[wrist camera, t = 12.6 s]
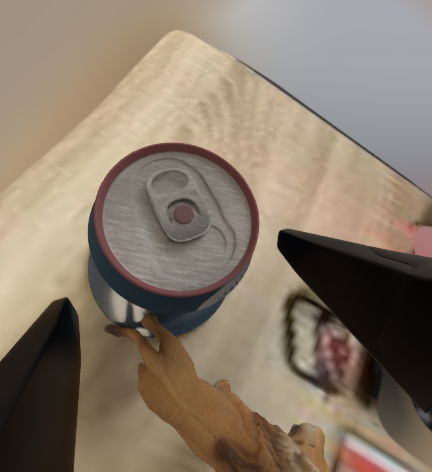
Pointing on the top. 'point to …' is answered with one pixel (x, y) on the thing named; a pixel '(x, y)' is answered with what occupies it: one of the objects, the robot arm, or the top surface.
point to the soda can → (173, 228)
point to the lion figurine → (217, 413)
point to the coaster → (132, 314)
